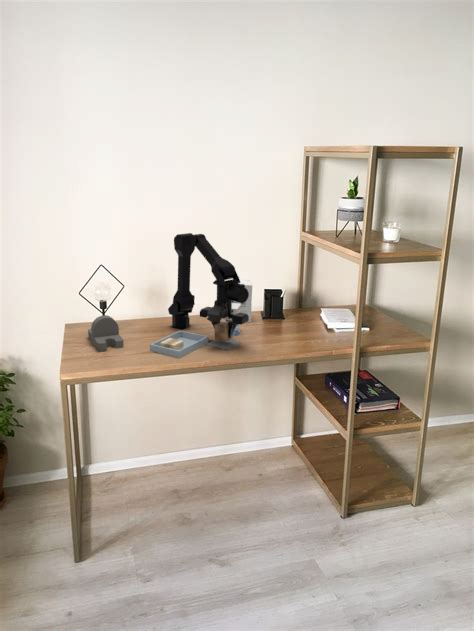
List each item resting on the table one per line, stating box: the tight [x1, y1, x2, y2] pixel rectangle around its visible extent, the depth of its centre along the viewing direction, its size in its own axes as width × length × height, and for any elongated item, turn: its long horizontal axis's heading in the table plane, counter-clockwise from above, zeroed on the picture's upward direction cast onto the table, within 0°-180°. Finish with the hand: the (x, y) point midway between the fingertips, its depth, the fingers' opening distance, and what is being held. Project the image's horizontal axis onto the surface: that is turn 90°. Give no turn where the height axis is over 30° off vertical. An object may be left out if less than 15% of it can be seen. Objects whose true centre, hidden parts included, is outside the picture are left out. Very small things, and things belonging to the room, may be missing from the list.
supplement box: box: [232, 279, 253, 323], centre depth 245 cm, size 10×9×17 cm
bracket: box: [87, 315, 124, 353], centre depth 213 cm, size 10×18×11 cm, turn 27°
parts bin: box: [149, 329, 210, 359], centre depth 210 cm, size 13×19×3 cm
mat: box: [205, 339, 242, 351], centre depth 215 cm, size 10×10×1 cm
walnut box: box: [214, 321, 234, 342], centre depth 214 cm, size 5×5×6 cm
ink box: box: [225, 303, 241, 336], centre depth 227 cm, size 8×5×12 cm, turn 168°
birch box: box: [160, 338, 183, 350], centre depth 206 cm, size 6×6×4 cm
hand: (223, 336), depth 214 cm, fingers closed on walnut box, 5 cm apart
